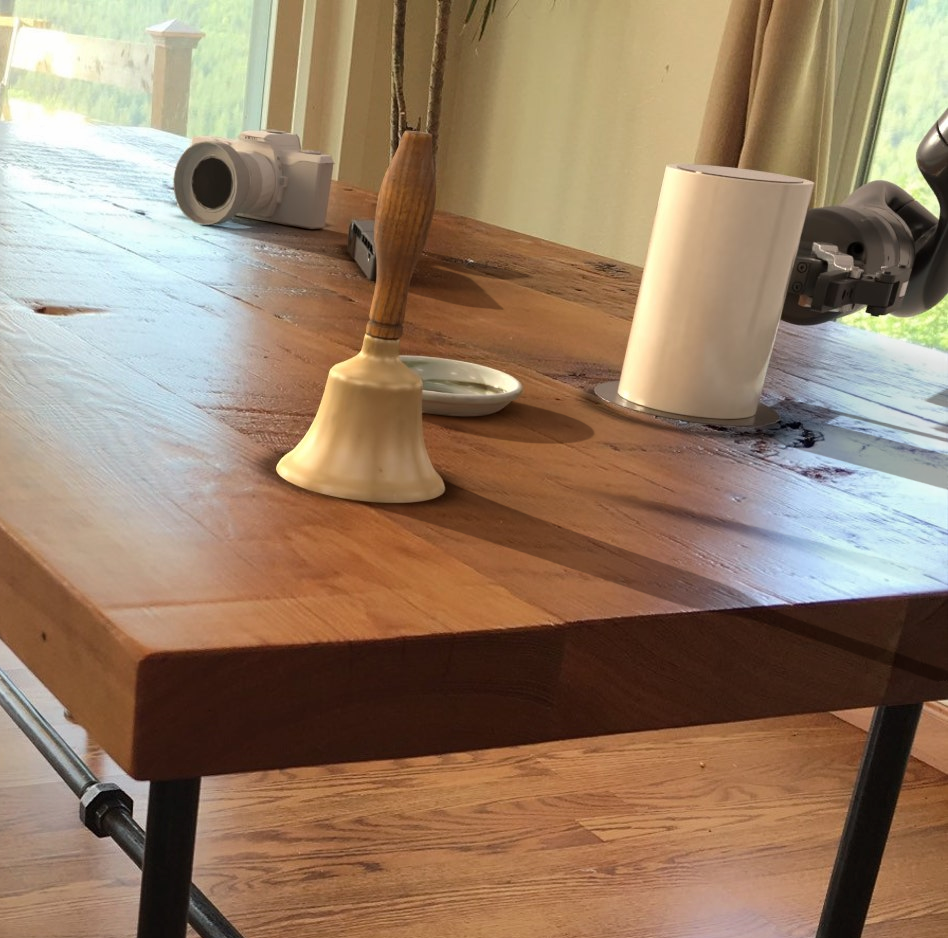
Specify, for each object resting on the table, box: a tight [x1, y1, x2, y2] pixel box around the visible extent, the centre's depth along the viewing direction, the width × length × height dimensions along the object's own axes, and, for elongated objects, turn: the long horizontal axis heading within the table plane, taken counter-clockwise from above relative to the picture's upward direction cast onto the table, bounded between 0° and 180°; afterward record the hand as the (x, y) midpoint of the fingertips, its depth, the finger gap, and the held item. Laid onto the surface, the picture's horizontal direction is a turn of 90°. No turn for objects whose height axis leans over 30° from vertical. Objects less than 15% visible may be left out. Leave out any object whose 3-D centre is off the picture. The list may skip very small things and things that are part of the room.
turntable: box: [593, 380, 781, 427], centre depth 100 cm, size 11×11×1 cm
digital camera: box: [173, 129, 335, 230], centre depth 163 cm, size 17×14×10 cm
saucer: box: [399, 354, 524, 417], centre depth 94 cm, size 10×10×2 cm
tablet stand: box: [346, 218, 377, 282], centre depth 143 cm, size 18×3×3 cm, turn 0°
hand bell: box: [275, 130, 446, 504], centre depth 76 cm, size 8×8×16 cm
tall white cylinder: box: [618, 163, 815, 419], centre depth 98 cm, size 13×8×13 cm, turn 143°
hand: (750, 281), depth 101 cm, fingers open, 8 cm apart
